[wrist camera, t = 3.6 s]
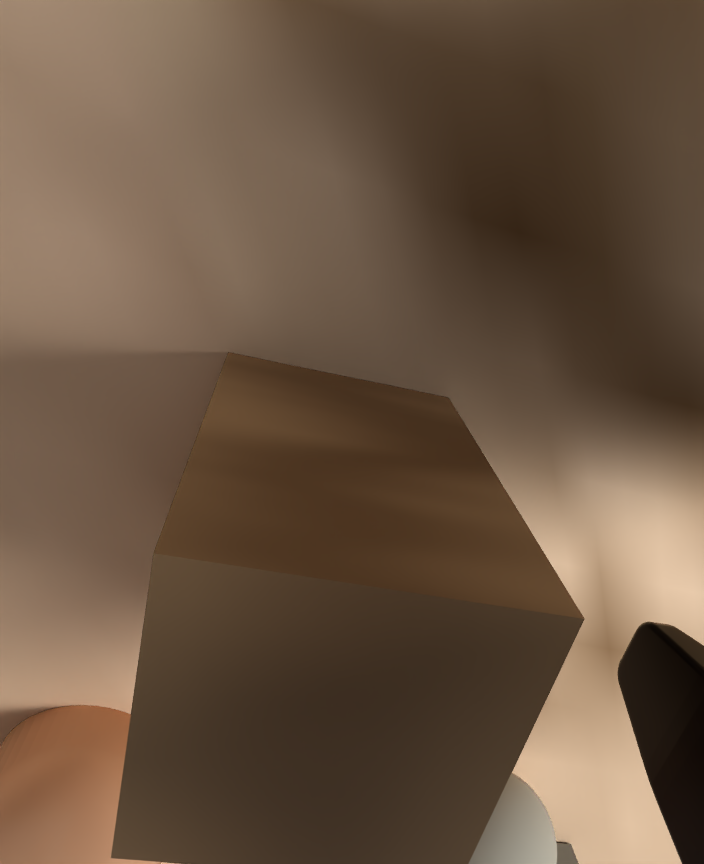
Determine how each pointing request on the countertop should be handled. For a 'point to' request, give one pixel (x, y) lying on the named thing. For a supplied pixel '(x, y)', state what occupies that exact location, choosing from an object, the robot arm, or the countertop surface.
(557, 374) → the countertop surface
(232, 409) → the walnut block
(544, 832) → the grey ball
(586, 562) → the countertop surface
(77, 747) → the peach rounded capsule
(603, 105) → the countertop surface
